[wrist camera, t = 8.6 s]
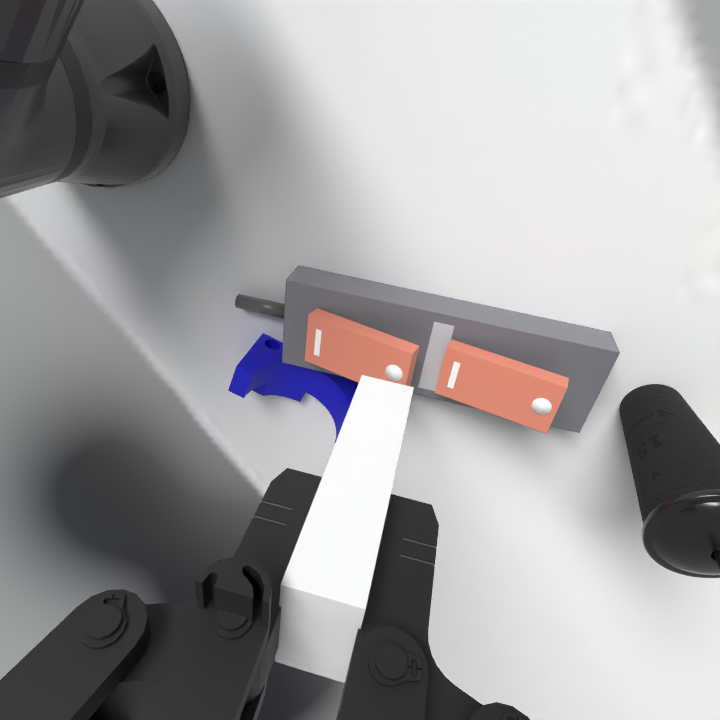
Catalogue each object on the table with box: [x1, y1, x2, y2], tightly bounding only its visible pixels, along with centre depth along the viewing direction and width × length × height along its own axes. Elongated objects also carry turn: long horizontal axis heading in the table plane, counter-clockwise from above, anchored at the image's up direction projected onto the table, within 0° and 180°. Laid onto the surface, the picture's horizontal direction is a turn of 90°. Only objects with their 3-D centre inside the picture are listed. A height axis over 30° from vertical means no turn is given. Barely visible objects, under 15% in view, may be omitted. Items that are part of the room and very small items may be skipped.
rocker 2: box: [434, 339, 569, 434], centre depth 38 cm, size 9×4×2 cm, turn 82°
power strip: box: [235, 266, 620, 432], centre depth 41 cm, size 31×8×3 cm, turn 81°
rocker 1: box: [305, 308, 420, 386], centre depth 39 cm, size 9×4×2 cm, turn 82°
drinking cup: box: [620, 384, 720, 578], centre depth 33 cm, size 8×8×20 cm
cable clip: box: [228, 333, 359, 443], centre depth 45 cm, size 12×4×6 cm, turn 65°
